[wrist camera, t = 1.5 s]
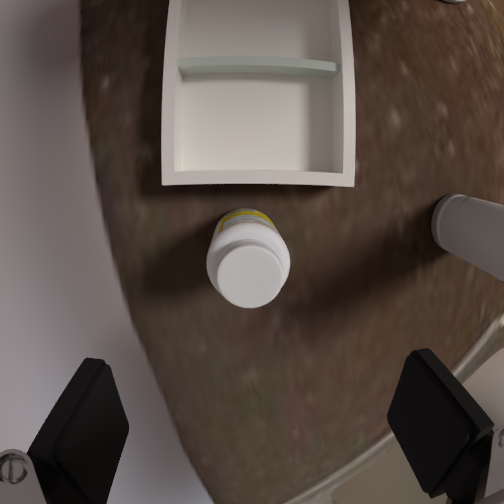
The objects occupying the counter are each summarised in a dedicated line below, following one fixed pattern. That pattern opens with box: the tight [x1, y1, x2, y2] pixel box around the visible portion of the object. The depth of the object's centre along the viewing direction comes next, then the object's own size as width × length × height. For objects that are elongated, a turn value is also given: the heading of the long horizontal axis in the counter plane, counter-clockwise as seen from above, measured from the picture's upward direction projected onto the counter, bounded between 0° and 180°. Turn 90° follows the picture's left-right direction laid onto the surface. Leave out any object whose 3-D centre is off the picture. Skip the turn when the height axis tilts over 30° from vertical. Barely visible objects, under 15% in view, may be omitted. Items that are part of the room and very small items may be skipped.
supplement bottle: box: [207, 208, 290, 308], centre depth 23 cm, size 6×6×10 cm
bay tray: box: [161, 0, 355, 187], centre depth 22 cm, size 20×15×4 cm
